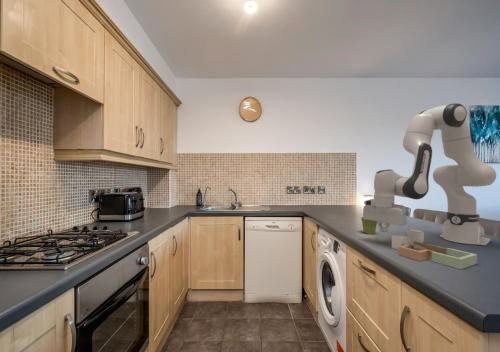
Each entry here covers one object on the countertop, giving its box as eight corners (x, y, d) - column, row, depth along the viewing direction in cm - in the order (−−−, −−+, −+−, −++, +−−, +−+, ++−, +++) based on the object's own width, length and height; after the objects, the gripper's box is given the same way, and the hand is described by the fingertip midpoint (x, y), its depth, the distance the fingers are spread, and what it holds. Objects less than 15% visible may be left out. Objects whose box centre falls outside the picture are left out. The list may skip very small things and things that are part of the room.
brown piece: (415, 248, 109) (415, 241, 109) (446, 256, 98) (446, 248, 98) (401, 251, 104) (401, 243, 104) (432, 260, 93) (432, 251, 93)
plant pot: (375, 231, 143) (376, 217, 143) (380, 235, 133) (380, 219, 133) (358, 230, 145) (359, 216, 145) (362, 234, 135) (362, 219, 135)
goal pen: (447, 256, 99) (447, 247, 99) (477, 263, 90) (477, 254, 90) (431, 261, 93) (431, 252, 93) (460, 269, 85) (461, 259, 85)
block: (398, 246, 113) (398, 234, 113) (409, 249, 108) (409, 237, 108) (391, 247, 111) (391, 235, 111) (402, 250, 106) (402, 238, 106)
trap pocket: (405, 253, 102) (405, 244, 102) (427, 259, 95) (427, 250, 95) (398, 254, 100) (398, 246, 100) (420, 261, 93) (420, 252, 93)
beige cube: (427, 247, 111) (427, 232, 111) (410, 246, 112) (410, 231, 112) (420, 243, 118) (420, 229, 118) (404, 242, 119) (404, 228, 119)
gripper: (410, 205, 109) (409, 235, 108) (369, 200, 127) (368, 227, 127) (401, 205, 106) (401, 237, 106) (361, 201, 124) (360, 227, 124)
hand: (383, 231), depth 116 cm, fingers closed
